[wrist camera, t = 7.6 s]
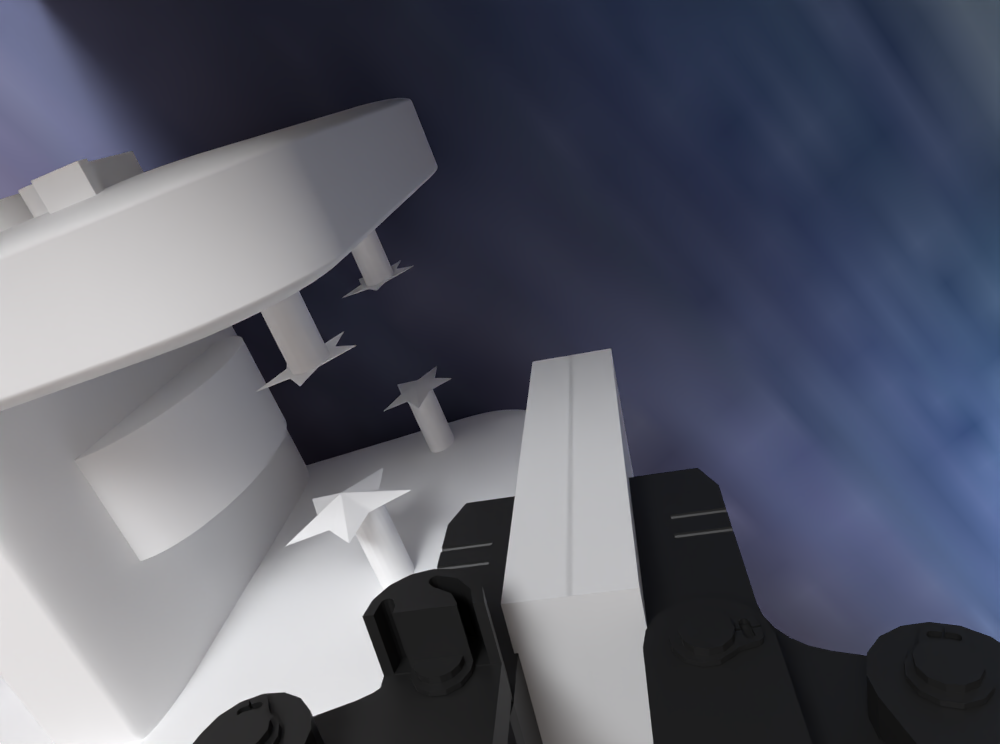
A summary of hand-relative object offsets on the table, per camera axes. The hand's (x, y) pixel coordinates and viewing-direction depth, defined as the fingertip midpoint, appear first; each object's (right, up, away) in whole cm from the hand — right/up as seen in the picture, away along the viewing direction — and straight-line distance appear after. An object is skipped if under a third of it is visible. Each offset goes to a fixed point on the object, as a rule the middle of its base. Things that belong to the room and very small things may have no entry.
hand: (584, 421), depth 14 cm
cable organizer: (-8, +2, +8) cm, 12 cm away
